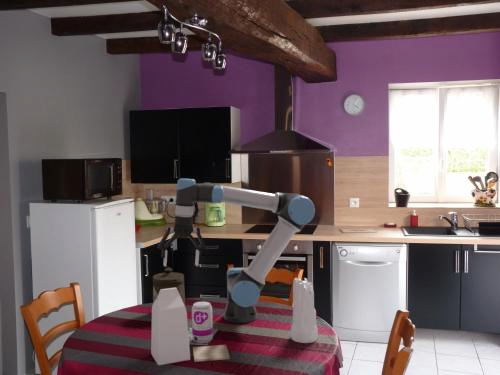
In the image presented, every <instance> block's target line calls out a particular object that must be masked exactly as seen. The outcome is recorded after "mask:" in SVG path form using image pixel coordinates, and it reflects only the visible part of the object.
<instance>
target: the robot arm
mask: <svg viewBox="0 0 500 375" xmlns="http://www.w3.org/2000/svg"><path fill="white" fill-rule="evenodd" d="M175 197H176V198H175V200H176V201H175V211H174V212H175V213H174V214H175V216H174V226H173V227H172V226H171V227H170V226H168V225H167V226H166V230H165V232H164V234H163V236H162V238H161V240H160V241H159V243H158V245H157V248H158V249H159V250H161V258H162V259H163V267H167V262H168V250H167V249H168V248H169V247H170V246H171V245H172V244H173V243H174V241H175V240H177V239H187V238H189V239H190V240H191V242H192V243H193V245H194V246H195V247H196V249H195V262H194V265H195V266H196V267H199V261H200V259H201V258H202V252H203V250H206V249H207V246H206V244H205V241H204V239H203V237H202V235H201V229H200V227H199V226H196V227H193V225H194V217H193V215H194V212H195V211H194V208H195V203H203V204H204V203H205V204H207V203H208V204H214V205H215V204H221V203H225V204H231V205H236V206H237V205H238V206H242V207H250V208H255V209H262V210H267V211H271V212H272V213H273V214H278V216H277V218H278V222H277V223H276V225H275V226H274V228H273V229H272V230H271V232H270V234H269V235H268V237H267V238H266V240H265V241H264V242H263V244H262V246H261V247H260V248H259V250H258V252H257V253H256V254H255V256H254V257H253V259H252V261H251V262H250V264H249V265H248V266H247V267H233V268H232V267H231V268H229V269H227V270H226V283H227V286H226V289H227V290H226V291H227V297H226V298H227V302H226V305H225V309H224V313H223V318H224V321H226V322H229V323H235V324H247V323H251V322H253V321H256V320H257V319H258V312H257V309H256V306H255V304H256V303H257V302H258V301H259V299H260V296H261V291H262V289H263V288H264V287H265V285H266V281H265V278H266V277H267V275H268V274H269V273H270V271H271V270H272V268H273V266H274V265H275V263H277V261H278V259H279V258H280V257H281V254H283V252H284V251H285V249H286V247H287V246H288V244H289V242H290V241H291V240H292V239H293V237H294V235H295V234H296V233H298V232H301V231H302V229H303V228H304V227H305V225H306V224H308V223H310V222H311V221H312V220H313V219H314V217H315V214H316V208H315V204H314V203H313V201H312V200H311V198H309V197H307V196H305V195H301V194H299V193H293V192H292V193H289V192H288V193H287V192H279V191H278V192H277V191H276V192H275V193H271V192H265V191H259V190H253V189H247V188H242V187H241V188H240V187H235V186H228V185H223V184H218V183H212V182H203V183H202V184H198V183H196V180H195V179H194V178H179V179H178V180H177V184H176V196H175ZM172 232H174V233H173V235H171V236H170V234H171V233H172ZM193 232H194V233H195V234H196V236H197V239H198V242H199V243H200V244H199V243H198V242H197V241H196V239H195V238H194V235H192V233H193ZM169 236H170V238H169V239H168V237H169ZM167 239H168V241H167Z"/></svg>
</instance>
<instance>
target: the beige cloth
mask: <svg viewBox="0 0 500 375" xmlns="http://www.w3.org/2000/svg"><path fill="white" fill-rule="evenodd" d="M192 354H193V360H194V363H196V362H209V361H220V360H221V361H223V360H230V359H231V358H230V353H229V349H228V347H227V344H219V345H217V344H216V345H207V346H205V345H204V346H192Z"/></svg>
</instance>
